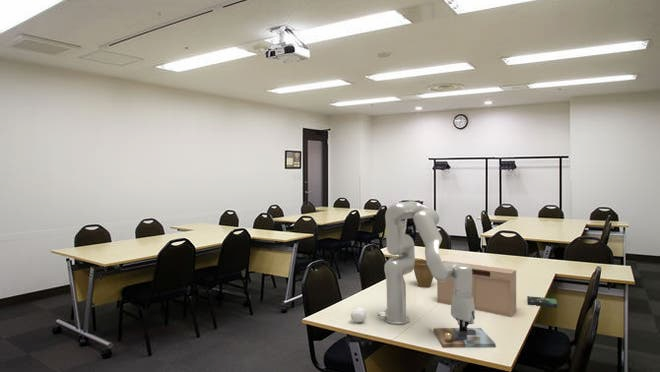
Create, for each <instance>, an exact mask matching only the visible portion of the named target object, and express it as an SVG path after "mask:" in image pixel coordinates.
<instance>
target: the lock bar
mask: <svg viewBox="0 0 660 372" xmlns="http://www.w3.org/2000/svg"><path fill="white" fill-rule="evenodd" d="M467 335H476V331H475V330H473V329H471V330H464V331H457V332H445V341H446V342H451V341H457V340H464V339H467Z"/></svg>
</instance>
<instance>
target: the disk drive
mask: <svg viewBox="0 0 660 372" xmlns="http://www.w3.org/2000/svg"><path fill="white" fill-rule="evenodd" d="M526 298H527V299H526V300H527V305H528V306H534V305H536V306H537V307H545V308H552V309H554V308H555V309H558V308H559V304H558V301H557V299H556V298H549V297H548V298H547V297H539V296H531V295H529V296H526ZM536 306H535V307H536Z"/></svg>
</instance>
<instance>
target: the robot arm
mask: <svg viewBox="0 0 660 372" xmlns="http://www.w3.org/2000/svg"><path fill="white" fill-rule="evenodd" d="M384 219H385V227H386V230H385V235H386V250H387V252H388V253H389V254H390V255H391V256H395V257H391V258H389V259H388V260H387V261H386V262H385V263H384V268H383V269H384V274H385V282H386V309H385V311H377V317H380V318H383V320H384V322H386V323H388V324H390V323H391V325H405V324H407V323H409V322H410V318H409V316H407V289H406V288H407V287H406V285H407V284H406V282H405V279H404V276H405V275H407V274H411V273H412V272H414V266H415V260H416V259H415V257H416V256H415V242H414V239H413V238H412V237H411V236H410V235H409V234H407V233H405V234H404V226H403V225H404V224H403V222H402V221H403V220H408V219H413V223H414V225H415V228H416V229H417V232H418V234H419V236H420V238H421V240H422V241H423V244H424V255H425V258H424V259H425V260H426V263H427V265H428V267H429V270H430V272H431V273H432V275H433V279H435V280H436V281H437V280H438V281H446V280H448V279H452V278H454V288H453V291H454V294H453V297H452V302H451V305H450V315H451V316H452V318H453V319H454V320H456V322H457V324H458V326H459V327H458V328H459V331H464V330H467V328H468V326H469V325H474V324H475V319H476V310H475V306H474V299H473V297H472V268H471V266H469V265H464V264H458V263H459V262H457V263H455V262H454V261H449V262H445V263H442V261H443V260H442V259H441V257H440V251H439V250H440V245H441V243H442V241H443V237H442V235H441V233H440V231H439V229H438V227H437V225H439V222H440V215H439V213H438V212H437V211H436V210H435V209H433V208H432V207H428V206H426V205H424V204H421V203H419V202H417V201H412V200H411V201H401V202H395V203H393V204H391V205H389V206H388V207H387V209H386V211H385V214H384ZM401 220H402V221H401Z"/></svg>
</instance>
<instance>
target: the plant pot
mask: <svg viewBox="0 0 660 372" xmlns="http://www.w3.org/2000/svg"><path fill="white" fill-rule="evenodd" d="M413 272H414V275H415V279H416V282H417V284H418V287H420V288H424V289H425V288H427V289H428V288H430V287H431V286H432V282H433V279H434V277H433V275H432V273H431V272H430V270H429V267H428V265H427V263H426V259H417V260H416V259H415V266H414V269H413Z"/></svg>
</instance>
